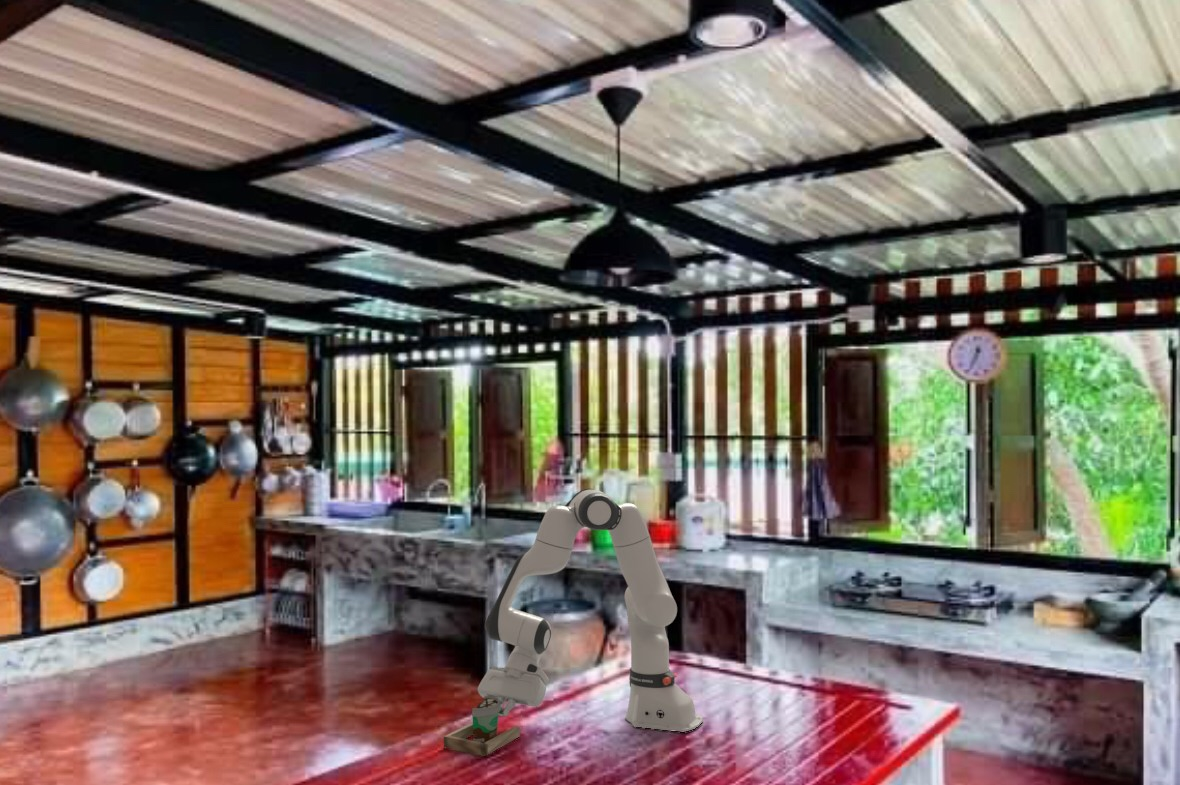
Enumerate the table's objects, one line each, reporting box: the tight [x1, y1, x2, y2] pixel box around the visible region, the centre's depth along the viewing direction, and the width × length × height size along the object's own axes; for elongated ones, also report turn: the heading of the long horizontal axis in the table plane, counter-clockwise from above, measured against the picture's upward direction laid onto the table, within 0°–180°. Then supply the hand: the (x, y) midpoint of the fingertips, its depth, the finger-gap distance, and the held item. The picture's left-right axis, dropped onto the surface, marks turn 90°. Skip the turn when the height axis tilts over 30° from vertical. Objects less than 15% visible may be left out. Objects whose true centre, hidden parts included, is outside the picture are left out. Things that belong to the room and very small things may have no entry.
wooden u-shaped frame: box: [443, 721, 521, 757], centre depth 245 cm, size 13×16×3 cm
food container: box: [471, 696, 501, 743], centre depth 248 cm, size 12×6×10 cm, turn 170°
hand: (500, 714), depth 252 cm, fingers closed
